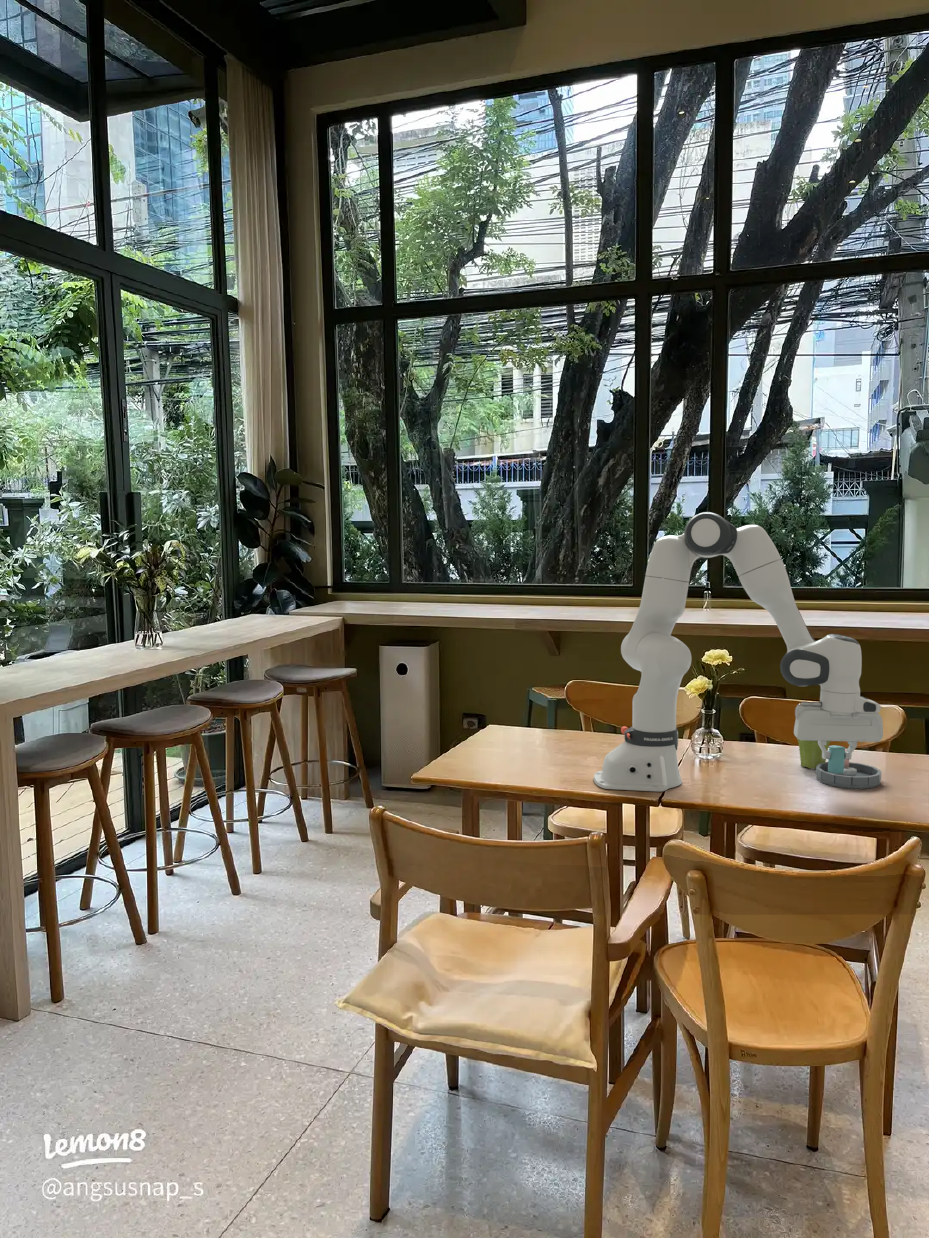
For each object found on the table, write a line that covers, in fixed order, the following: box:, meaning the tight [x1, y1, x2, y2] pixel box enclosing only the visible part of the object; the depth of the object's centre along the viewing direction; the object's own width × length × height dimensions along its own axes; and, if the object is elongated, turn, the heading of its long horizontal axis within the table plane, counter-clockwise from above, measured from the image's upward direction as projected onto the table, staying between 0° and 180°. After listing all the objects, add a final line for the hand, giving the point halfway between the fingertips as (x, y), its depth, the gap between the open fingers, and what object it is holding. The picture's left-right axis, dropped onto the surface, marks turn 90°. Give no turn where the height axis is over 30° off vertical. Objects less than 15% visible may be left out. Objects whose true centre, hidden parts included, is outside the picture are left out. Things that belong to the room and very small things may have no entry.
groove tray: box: [815, 761, 882, 790], centre depth 235 cm, size 15×15×3 cm
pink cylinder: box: [844, 748, 850, 767], centre depth 239 cm, size 4×4×6 cm
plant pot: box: [796, 737, 831, 770], centre depth 249 cm, size 9×9×9 cm
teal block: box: [827, 745, 846, 774], centre depth 220 cm, size 4×4×6 cm
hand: (836, 758), depth 220 cm, fingers closed on teal block, 4 cm apart
